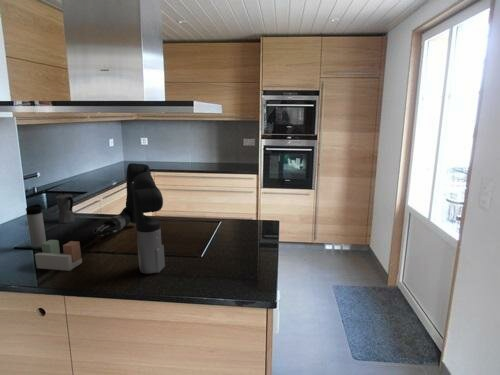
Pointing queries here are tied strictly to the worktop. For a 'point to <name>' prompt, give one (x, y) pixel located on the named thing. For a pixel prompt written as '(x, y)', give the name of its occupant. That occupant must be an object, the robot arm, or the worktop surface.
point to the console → (56, 261)
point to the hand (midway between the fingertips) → (93, 236)
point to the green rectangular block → (51, 247)
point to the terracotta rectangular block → (72, 250)
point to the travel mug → (36, 226)
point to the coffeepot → (65, 208)
